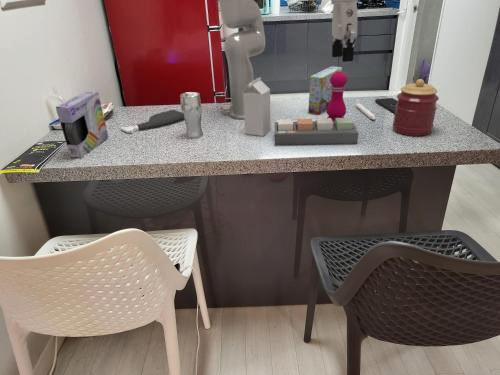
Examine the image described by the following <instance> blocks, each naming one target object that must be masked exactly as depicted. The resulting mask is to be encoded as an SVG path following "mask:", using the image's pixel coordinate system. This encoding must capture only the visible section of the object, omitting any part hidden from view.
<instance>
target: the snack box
mask: <svg viewBox="0 0 500 375" xmlns="http://www.w3.org/2000/svg"><path fill="white" fill-rule="evenodd" d="M338 68H341V69H342V70H343V67H341V66H330V67H327V68H325V69H324V70H320V71H319V72H317V73H315V74H314V73H313V74H312V75H310V77H309V91H308V93H309V95H308V110H307V111H308V112H307V113H308V114H311V115H312V114H313V115H316V116H317V115H318V116H319V115H321V114H323V113H324V112H326V111H327V107H328V104H329V103H330V101H331V98H332V91H331V86H332V84H331V83H330V77H331V75H332V74H334V73H336V72H337V69H338ZM341 72H342V73H343V71H341Z"/></svg>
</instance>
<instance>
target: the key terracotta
mask: <svg viewBox="0 0 500 375" xmlns="http://www.w3.org/2000/svg"><path fill="white" fill-rule="evenodd" d="M296 122H297V131H302V130H313V119H312V118H296Z"/></svg>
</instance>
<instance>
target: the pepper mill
mask: <svg viewBox="0 0 500 375" xmlns="http://www.w3.org/2000/svg"><path fill="white" fill-rule="evenodd" d="M342 70H343V68H342V69H341V68H338V69H337V72H336V73H334V74H332V75H331V77H330V83H331V84H332V86H331V91H332V98H331V101H330V103H329V104H328V107H327V110H326V111H325V112H326V114H327V115H328V116H327V118H331V119H332V121H335V119H336V118H345V115H346V114H347V106H346V104H345V102H344V91H345V90H346V86H345V85H346V84H347V82H348V77H347V75H346V73H344V72H343V71H342ZM341 71H342V72H341Z"/></svg>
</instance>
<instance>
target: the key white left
mask: <svg viewBox="0 0 500 375" xmlns="http://www.w3.org/2000/svg"><path fill="white" fill-rule="evenodd" d="M277 122H278V131H293V122H294V118H284V119H283V118H280V119H279V118H277Z"/></svg>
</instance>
